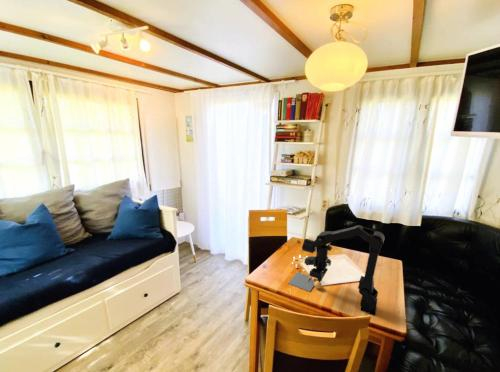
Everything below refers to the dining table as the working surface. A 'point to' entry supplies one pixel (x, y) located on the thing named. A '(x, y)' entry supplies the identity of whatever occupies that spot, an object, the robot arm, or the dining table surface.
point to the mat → (302, 281)
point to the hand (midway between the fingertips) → (319, 281)
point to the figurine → (317, 283)
